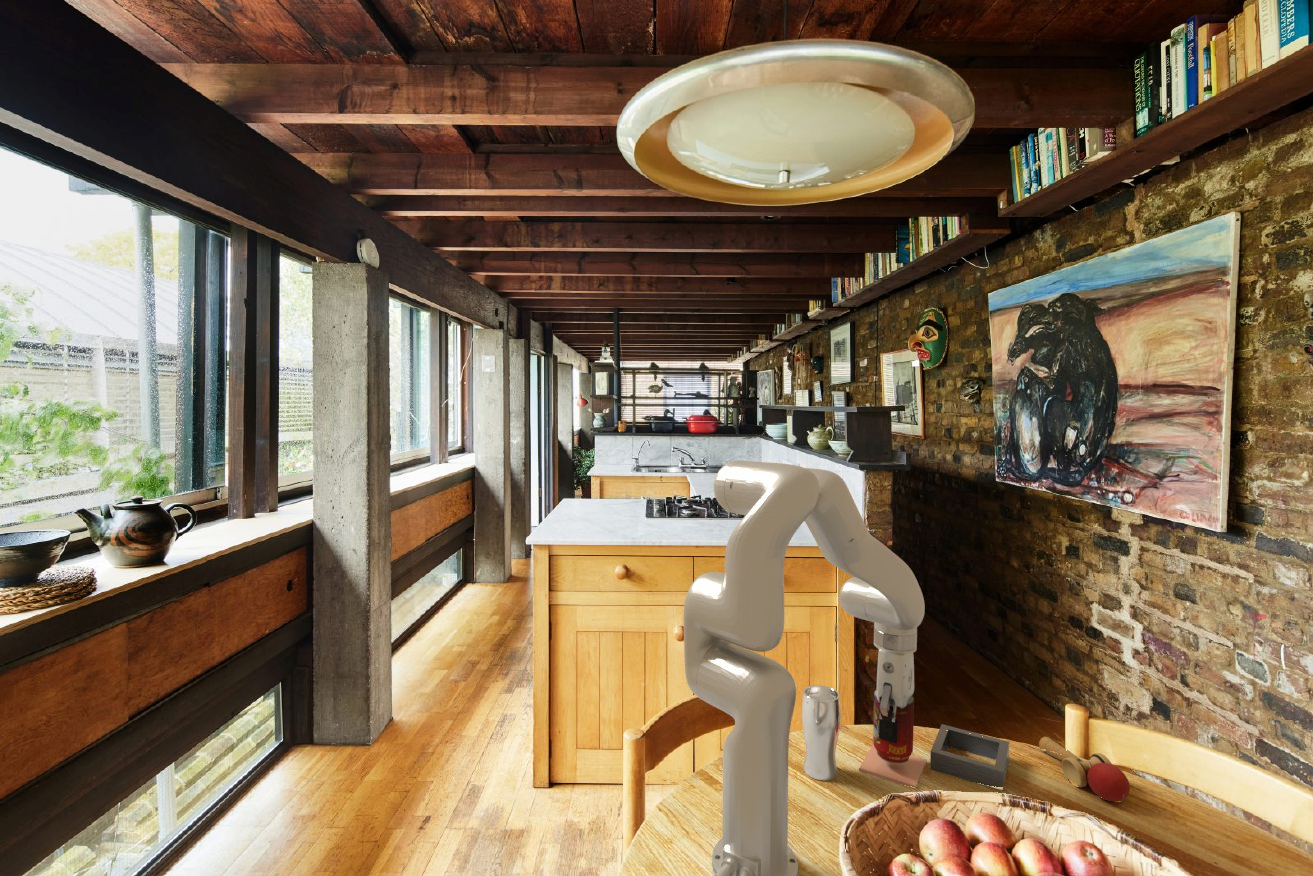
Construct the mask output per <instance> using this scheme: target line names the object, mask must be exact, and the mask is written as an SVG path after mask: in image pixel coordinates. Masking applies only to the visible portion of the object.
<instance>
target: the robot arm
mask: <svg viewBox="0 0 1313 876" xmlns="http://www.w3.org/2000/svg"><path fill="white" fill-rule="evenodd" d="M713 492H714V497H715V500H716V501H717V503H718V504H719V506H721V508H722V509H724V510H725V511H727V512H728V513H730V514H736V515H742V516H744V517H743V518H742V519H741V520H740V521H739V523H738V524H737V525H736V527H734V529H733V531H732V532H731V534H730V536H729V538H728V540H727V543H726V546H725V547H726V548H725V553H724V572H721V571H720V572H719V571H709V572H705V573H703V574H700V575H699V576H698V577H696V579H695V580H694V581H693V582H692V584H691V585H690V587H689V589H688V590H687V593H686V597H685V598H684V599H685V600H684V603H683V645H684V646H683V647H684V648H683V650H684V671H685V677H686V678H685V679H686V683H687V685H688V688H689V689H690V691H691V692H692V694H693V695H694V696H696V697H697V698H698V699H700V700H702V701H703V702H705V703H707V704H708V705H711V706H712V707H714V708H715V709H716V708H717V709H718V710H720V711H722V712H724V713H726V714H727V715H729V716H731V717H732V718H733V720H734V727H733V728H732V730H730V732H729V733H728V734H727V736H726V738H725V740H724V743H723V747H722V838H721V839H719V841H718V842H717V843H716V844H715V846H714V847H713V849H712V853H711V867H712V869H713V872H714V876H799V864H798V863H799V862H798V859H797V856H796V854H795V852H794V851H793V850H792V848H791V847H790V846H789V845H788V838H789V835H788V834H789V833H788V831H789V828H788V827H789V821H788V820H789V819H788V818H789V745H790V734H791V733H790V732H791V727H792V726H791V725H792V719H793V715H794V712H795V707H796V701H797V686H796V682H795V679H794V676H793V675H792V674H791V672H790V671H789V670H788V668H786V667H785V666H784V665H782V664H781V663H779V662H778V661H776V660H774V659H773V658H770V657H767V656H765V655H762V654H760V653H758V652H761V653H763V652H769V651H773V650H775V648H776V647H778V646H779V644H780V643H781V641H782V638H783V636H784V630H785V559H786V554H787V553H786V552H787V549H788V546H789V544H790V542H791V540H792V539H793V537H794V535H795V533H796V532H797V531H798V529H799V528H800V527H801V525H802V524H803V523H805V524H806V526H807V527H808V530H809V532H810V533H811V535H812V537H813V538H814V540H815V542H816V545H817V546H818V548H819V550H820V552H821V555H822V556H823V557H824V558H825V560H826V561H827V562H828V563H830V564H832V566H834V567H836V568H837V569H839V570H841V571H842V572H844V573H846V574H848V575H850V576H851V577H850V578H849V579H847V580H846V581H845V582H844V583H843V584H842V585H841V587H840V590H839V595H838V596H839V597H838V598H839V604H840V606H841V608H842V609H843V610H844V612H845V613H847V614H849V615H850V616H852V617H853V618H857V619H861V620H865V621H868V622H871V623H873V645H874V647H876V649H878V654H877V656H878V657H877V666H876V667H877V668H876V669H877V673H876V690H877V700H878V701H879V702H880V715H879V738H880V739H882V740H885V741H889V742H892V743H897V741H898V721H896V717H897V707H900V708H904V707H905V706H906V705H907V703H908V700H909V698H910V696H911V695H912V696H913V694H914V692H915V664H914V663H915V661H914V659H915V657H914V653H915V652H917V647H918V646H917V645H918V644H917V643H918V627H919V626H920V625H921V624H922V622H923V619H924V617H925V612H926V611H925V609H926V608H925V605H926V603H925V600H924V599H925V598H924V595H923V592H922V588H921V587H920V585H919V582H918V580H917V578H916V575H915V574H914V572H913V570H912V569H911V568H910V567H909V565H908V564H907V563H906V562H905V561H904V560H903V559H901V557H899V556H898V555H897V554H896V553H894V552H893V551H892V550H891V549H889V548H888V547H887V546H886V545H885V544H884V543H882V542H881V541H879V540H878V539H877V538H875V537H874V536H873V535H871V534H870V532H869V530H868V527H867V526H866V523H865V521H864V519H863V517H862V515H861V512H860V511H859V509H858V506H857V505H856V502H855V500H854V498H853V496H852V494H851V492H850V490H849V488H848V486H847V484H846V481H845V480H844V479H843V478H842V477H841V476H840V475H839V474H837V473H836V472H833V471H831V470H827V469H820V468H807V467H802V466H799V465H795V464H789V463H779V462H768V461H767V462H764V461H763V462H762V461H752V460H741V459H740V460H737V459H736V460H732V461H729V462H727V463H726V464H724V465H722V466H721V468H720V469H719V470H718V472H717V473H716V475H715V478H714V482H713ZM890 699H892V700H894V701H895V704H894V703H890ZM889 706H891V707H893V714H892V712H891V710H889Z"/></svg>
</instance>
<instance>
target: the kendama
mask: <svg viewBox="0 0 1313 876" xmlns="http://www.w3.org/2000/svg"><path fill="white" fill-rule="evenodd" d="M1038 748H1039V749H1040V748H1041V749H1046V751H1042V752H1043V753H1045V752H1046V753H1045V754H1048V755H1050V756H1051V757H1053V758H1055V759H1057V760H1060V761H1061V769H1062V772H1063V774H1064V777H1066V779H1067V778H1068V779H1069V780H1071V781H1072V782H1073V783H1076V784H1077V786H1078V787H1080V788H1084V787H1086V786H1087V784H1088V785H1089V788H1090V789H1091V791H1092V792H1093V793H1094V794H1095V795H1096V794H1097V795H1098V796H1097V795H1096V796H1097V797H1099V796H1100V797H1102V798H1104V799H1106V800H1109V801H1121V802H1123V801H1125V800H1126V799H1127V797H1128V796H1129V794H1130V791H1131V790H1130V789H1131V785H1130V781H1129V779H1128V777H1127V775H1126V774H1125V773H1124V772H1123V771H1122V770H1121V769H1120V768H1118V767H1117V766H1115V765H1113V764H1112V762H1111V760H1110V759H1109V758H1108V757H1107V756H1106V755H1104V754H1103V753H1100V752H1099V753H1098V752H1097V753H1093V754H1091V756H1090V759H1089V760H1086V761H1083V760H1082V759H1081V758H1080V757H1079V756H1077V755H1076V754H1074V753H1072V751H1070V750H1069V749H1067V748H1065V747H1063V745H1060V743H1058V742H1056V741H1055V740H1053V739H1052V738H1050V737H1049V736H1043V737H1042V738H1040V740H1039V742H1038ZM1041 749H1040V750H1041ZM1066 749H1067V751H1066ZM1050 751H1054V752H1057V753H1058V754H1057V753H1053V752H1050ZM1060 754H1062V755H1060ZM1068 779H1067V780H1068ZM1100 797H1099V798H1100ZM1102 798H1101V799H1102ZM1104 799H1103V800H1104ZM1106 800H1105V801H1106ZM1109 801H1108V802H1109ZM1121 802H1120V803H1121Z"/></svg>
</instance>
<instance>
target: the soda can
mask: <svg viewBox="0 0 1313 876" xmlns="http://www.w3.org/2000/svg"><path fill="white" fill-rule="evenodd" d="M890 703H894V704H895V701H894V700H892V699H890ZM914 709H915V699H914V697H913V694H912V695H911V696H910V698H909V700H908V703H907V705H906V706H905V707H904V708H900V707H897V717H896V721H898V741H897V743H892V742H889V741H885V740H882V739H880V738H879V715H880V702H879V701H878V700H877V689H876V690H874V693H873V729H872V730H873V733H872V734H873V735H872V736H873V738H872V739H873V740H872V745H873V744H874V747H875V749H876V750H877V755H878V756H879V757H880V758H881V759H883V760H884V761H887V762H890V763H894V764H902V763H906V762H907V761H908V760H909V757H910V755H913V751H914V725H915V724H914V721H915V719H914V717H915V715H914V714H915V712H914V711H915V710H914ZM889 710H891V712H892V714H893V707H891V706H889Z"/></svg>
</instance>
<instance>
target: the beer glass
mask: <svg viewBox="0 0 1313 876" xmlns="http://www.w3.org/2000/svg"><path fill="white" fill-rule="evenodd" d="M802 693H803V694H802V703H801V722H802V730H803V735H804V741H805V758H804V763H803V770H804V773H805V775H807V776H808V777H810V778H812V779H814V780H818V781H822V782H823V781H824V782H826V781H827V782H828V781H831V780H834V779H835V778H837V775H838V767H837V759H836V750H837V744H838V739H839V735H840V730H841V729H840V728H841V701H840V699H841V698H840V696H841V695H840V693H839V691H837V690H836V689H835V688H833V687H830V686H826V685H821V684H820V685H819V684H816V685H809V686H806V687H804V689H803V691H802Z"/></svg>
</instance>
